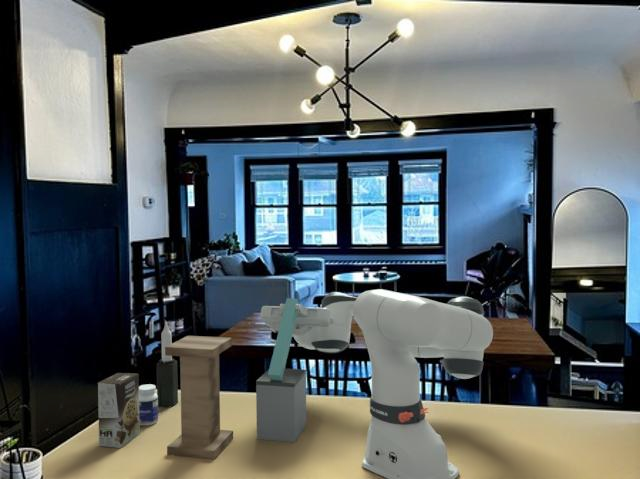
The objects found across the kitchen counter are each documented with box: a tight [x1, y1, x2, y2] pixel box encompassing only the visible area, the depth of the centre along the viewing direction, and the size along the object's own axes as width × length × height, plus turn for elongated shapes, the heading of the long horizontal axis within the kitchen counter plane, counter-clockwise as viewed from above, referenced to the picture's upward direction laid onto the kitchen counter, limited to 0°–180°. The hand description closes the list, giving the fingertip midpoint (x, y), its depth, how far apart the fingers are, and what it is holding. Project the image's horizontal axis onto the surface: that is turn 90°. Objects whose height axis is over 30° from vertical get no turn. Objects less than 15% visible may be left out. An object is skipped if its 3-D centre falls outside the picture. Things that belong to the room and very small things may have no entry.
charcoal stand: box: [255, 367, 307, 443], centre depth 143 cm, size 12×10×15 cm
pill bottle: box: [139, 383, 159, 427], centre depth 150 cm, size 6×6×10 cm
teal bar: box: [268, 297, 299, 381], centre depth 145 cm, size 24×3×3 cm
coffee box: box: [97, 372, 141, 449], centre depth 138 cm, size 9×6×16 cm
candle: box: [156, 321, 179, 408], centre depth 164 cm, size 5×5×25 cm
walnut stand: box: [165, 335, 234, 460], centre depth 134 cm, size 12×12×26 cm
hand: (289, 306), depth 150 cm, fingers closed on teal bar, 3 cm apart
